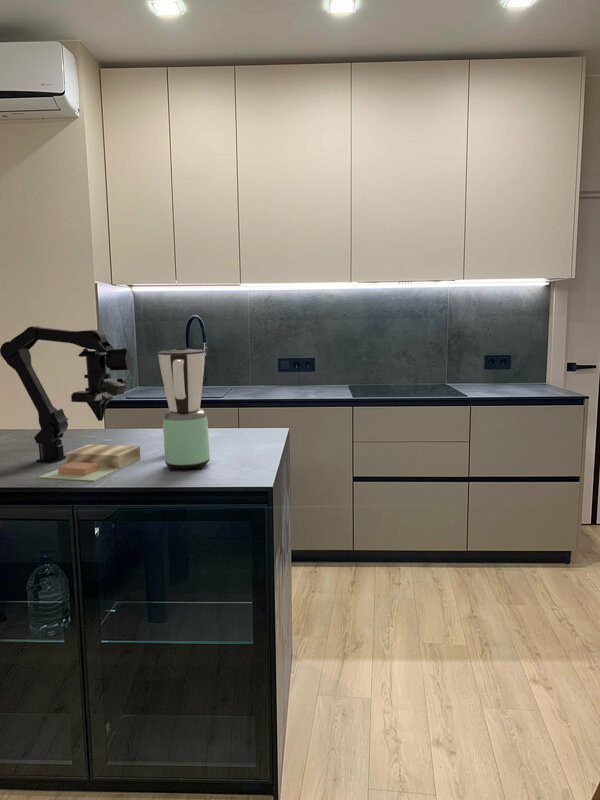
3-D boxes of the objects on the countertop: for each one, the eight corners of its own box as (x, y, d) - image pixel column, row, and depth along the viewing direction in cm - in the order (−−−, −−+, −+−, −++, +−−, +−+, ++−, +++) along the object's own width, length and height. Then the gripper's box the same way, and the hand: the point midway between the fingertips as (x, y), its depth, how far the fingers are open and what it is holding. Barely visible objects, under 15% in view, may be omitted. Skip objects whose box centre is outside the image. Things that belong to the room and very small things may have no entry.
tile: (71, 461, 177) (71, 468, 177) (57, 467, 171) (58, 474, 172) (97, 463, 175) (98, 470, 175) (84, 468, 169) (85, 475, 169)
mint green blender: (168, 460, 186) (161, 346, 180) (211, 457, 187) (206, 345, 182) (160, 477, 167) (152, 351, 162) (208, 474, 168) (202, 349, 163)
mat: (38, 477, 170) (38, 476, 169) (65, 466, 181) (65, 465, 181) (94, 481, 165) (94, 480, 165) (118, 469, 176) (118, 468, 176)
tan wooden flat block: (66, 466, 181) (65, 453, 181) (90, 456, 193) (89, 444, 192) (119, 469, 177) (118, 455, 176) (140, 458, 188) (139, 446, 187)
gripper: (99, 374, 174) (103, 427, 176) (136, 368, 191) (139, 416, 194) (67, 374, 177) (72, 426, 180) (107, 367, 195) (110, 414, 197)
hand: (100, 420), depth 187 cm, fingers closed
